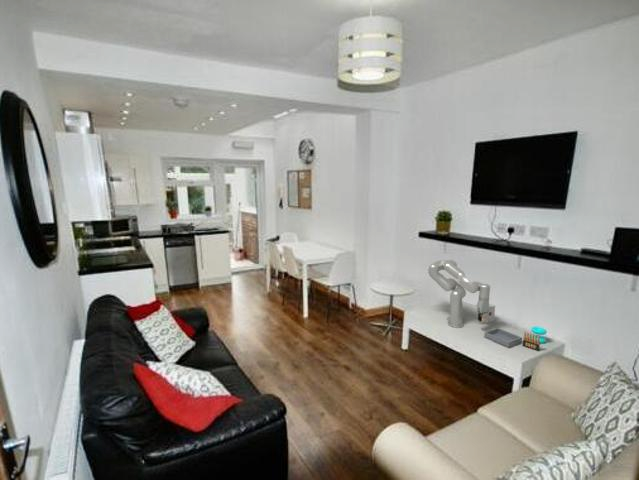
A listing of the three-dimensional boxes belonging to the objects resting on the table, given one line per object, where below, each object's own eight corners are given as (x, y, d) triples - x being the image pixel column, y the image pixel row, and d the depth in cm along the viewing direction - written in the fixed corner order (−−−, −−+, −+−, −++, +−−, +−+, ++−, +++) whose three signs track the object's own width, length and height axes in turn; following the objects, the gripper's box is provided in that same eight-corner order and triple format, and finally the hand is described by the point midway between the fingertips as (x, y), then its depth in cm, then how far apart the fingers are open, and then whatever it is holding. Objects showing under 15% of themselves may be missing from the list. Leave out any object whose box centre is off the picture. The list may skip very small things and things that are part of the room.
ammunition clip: (522, 346, 249) (523, 331, 247) (523, 345, 250) (524, 330, 248) (538, 351, 241) (539, 335, 239) (539, 350, 242) (540, 335, 240)
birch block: (477, 321, 274) (478, 312, 273) (481, 320, 276) (481, 311, 275) (482, 323, 271) (483, 314, 269) (485, 322, 273) (486, 313, 271)
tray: (484, 337, 264) (484, 332, 263) (497, 332, 271) (497, 327, 270) (508, 348, 246) (508, 342, 246) (521, 343, 254) (522, 337, 253)
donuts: (542, 326, 259) (549, 331, 249) (541, 338, 260) (548, 344, 251) (528, 325, 260) (534, 331, 251) (527, 337, 262) (533, 343, 252)
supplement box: (487, 323, 289) (488, 307, 286) (478, 319, 297) (479, 304, 294) (494, 321, 293) (495, 305, 290) (485, 317, 301) (486, 302, 298)
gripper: (486, 295, 277) (484, 316, 280) (472, 299, 269) (470, 320, 273) (494, 298, 270) (492, 319, 274) (481, 302, 263) (478, 323, 266)
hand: (481, 319), depth 273 cm, fingers closed on birch block, 4 cm apart
